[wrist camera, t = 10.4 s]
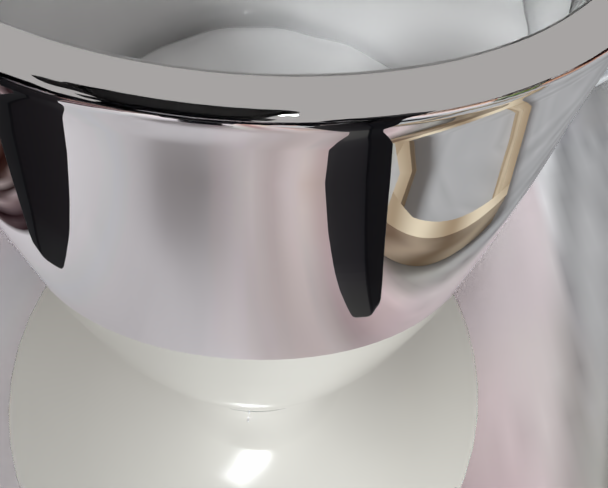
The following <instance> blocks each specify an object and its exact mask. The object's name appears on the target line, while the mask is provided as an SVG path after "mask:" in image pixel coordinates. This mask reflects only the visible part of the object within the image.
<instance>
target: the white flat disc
mask: <svg viewBox="0 0 608 488" xmlns="http://www.w3.org/2000/svg"><path fill="white" fill-rule="evenodd" d="M8 413H9V433H10V446H11V451H12V456H13V461H14V466H15V471H16V477H17V480H18V483H19V485H20V488H461V485H462V483H463V481H464V478H465V475H466V471H467V468H468V464H469V460H470V457H471V453H472V449H473V445H474V438H475V431H476V423H477V416H478V383H477V374H476V366H475V358H474V353H473V349H472V345H471V341H470V337H469V333H468V329H467V326H466V324H465V321H464V318H463V316H462V313H461V311H460V308H459V305H458V303H457V301H456V299H455V297H454V295H452V296H451V297H450V298H449V300H448V301H447V302H446V303H445V305H444V306H443V307H442V308H441V309H440V310H439V311H438V312H437V313H436V314H435V315H434V316H433V317H432V318H431V319H430V320H429V321H428V322H427V323H426V324H425V325H424V326H423V327H422V328H421V329H420V330H419V331H418V332H417V333H416V334H415V335H414V336H413V337H412V338H411V339H410V340H409V341H408V342H407V343H406V344H405V345H404V346H403V347H402V348H401V349H400V350H399V351H397V352H396V353H395V354H394V355H393V356H392V357H390V358H389V359H388V360H386V361H385V362H384V363H382V364H381V365H379V366H378V367H376V368H375V369H373V370H372V371H370V372H369V373H367V374H365V375H364V376H362V377H360V378H359V379H357V380H355V381H354V382H352V383H350V384H348V385H347V386H345V387H343V388H342V390H341V392H340V395H339V397H338V399H337V401H336V403H335V405H334V407H333V408H332V410H331V411H330V413H329V414H328V415H327V417H326V418H325V419H324V420H323V422H322V423H321V424H320V425H319V426H318V427H317V428H315V429H314V430H313V431H312V432H310V433H309V434H308V435H306V436H305V437H303V438H301V439H299V440H297V441H295V442H293V443H291V444H288V445H286V446H283V447H279V448H275V449H270V450H261V451H250V450H241V449H236V448H232V447H229V446H226V445H223V444H221V443H219V442H217V441H215V440H213V439H211V438H209V437H208V436H206V435H205V434H204V433H202V432H201V431H200V430H199V429H198V428H197V427H195V426H194V425H193V424H192V422H191V421H190V420H189V419H188V418H187V416H186V415H185V414H184V412H183V411H182V409H181V407H180V405H179V403H178V401H177V399H176V397H175V394H174V392H173V390H171V389H169V388H167V387H165V386H164V385H162V384H160V383H158V382H156V381H155V380H153V379H151V378H149V377H147V376H146V375H144V374H142V373H140V372H139V371H137V370H135V369H134V368H132V367H131V366H129V365H128V364H126V363H125V362H124V361H122V360H121V359H120V358H118V357H117V356H116V355H115V354H113V353H112V352H111V351H110V350H109V349H108V348H107V347H106V346H105V345H104V344H102V343H101V342H100V341H99V340H98V339H97V338H96V337H95V336H94V335H93V334H92V333H91V332H90V331H89V330H88V329H87V328H86V327H84V326H83V325H82V324H81V323H80V322H79V321H78V320H77V319H76V318H75V317H74V316H73V315H72V314H71V313H70V312H69V311H68V310H67V309H66V308H65V307H64V306H63V305H62V304H61V303H60V302H59V301H58V299H57V298H56V297H55V296H54V295H53V293H52V292H51V291H50V290H49V288H48V287H47V286H46V288H45V289H44V291H43V292H42V294H41V296H40V298H39V300H38V302H37V304H36V306H35V308H34V310H33V312H32V313H31V315H30V317H29V320H28V322H27V325H26V328H25V331H24V333H23V336H22V339H21V341H20V344H19V347H18V351H17V355H16V360H15V364H14V369H13V373H12V377H11V387H10V398H9V409H8Z"/></svg>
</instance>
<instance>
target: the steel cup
mask: <svg viewBox="0 0 608 488" xmlns="http://www.w3.org/2000/svg"><path fill="white" fill-rule="evenodd" d="M607 68H608V0H0V228H1V229H2V230H3V232H4V233H5V235H6V236H7V237H8V239H9V240H10V241H11V243H12V244H13V245H14V246H15V248H16V249H17V250H18V251H19V253H20V254H21V255H22V256H23V258H24V259H25V260H26V261H27V262H28V264H29V265H30V266H31V267H32V269H33V270H34V271H35V272H36V274H37V275H38V276H39V277H40V278H41V280H42V281H43V282H44V283H45V285H46V286H47V287H48V288H49V290H50V291H51V292H52V293H53V295H54V296H55V297H56V298H57V299H58V301H59V302H60V303H61V304H62V305H63V306H64V307H65V308H66V309H67V310H68V311H69V312H70V313H71V314H72V315H73V316H74V317H75V318H76V319H77V320H78V321H79V322H80V323H81V324H82V325H83V326H84V327H86V328H87V329H88V330H89V331H90V332H91V333H92V334H93V335H94V336H95V337H96V338H97V339H98V340H99V341H100V342H101V343H102V344H104V345H105V346H106V347H107V348H108V349H109V350H110V351H111V352H112V353H113V354H115V355H116V356H117V357H118V358H120V359H121V360H122V361H124V362H125V363H126V364H128V365H129V366H131V367H132V368H134V369H135V370H137V371H139V372H140V373H142V374H144V375H146V376H147V377H149V378H151V379H153V380H155V381H156V382H158V383H160V384H162V385H164V386H165V387H167V388H169V389H171V390H173V392H174V394H175V397H176V399H177V401H178V403H179V405H180V407H181V409H182V411H183V412H184V414H185V415H186V416H187V418H188V419H189V420H190V421H191V422H192V424H193V425H194V426H195V427H197V428H198V429H199V430H200V431H201V432H202V433H204V434H205V435H206V436H208V437H209V438H211V439H213V440H215V441H217V442H219V443H221V444H223V445H226V446H229V447H232V448H236V449H241V450H250V451H261V450H270V449H275V448H279V447H283V446H286V445H288V444H291V443H293V442H295V441H297V440H299V439H301V438H303V437H305V436H306V435H308V434H309V433H310V432H312V431H313V430H314V429H315V428H317V427H318V426H319V425H320V424H321V423H322V422H323V420H324V419H325V418H326V417H327V415H328V414H329V413H330V411H331V410H332V408H333V407H334V405H335V403H336V401H337V399H338V397H339V395H340V392H341V390H342V388H343V387H345V386H347V385H348V384H350V383H352V382H354V381H355V380H357V379H359V378H360V377H362V376H364V375H365V374H367V373H369V372H370V371H372V370H373V369H375V368H376V367H378V366H379V365H381V364H382V363H384V362H385V361H386V360H388V359H389V358H390V357H392V356H393V355H394V354H395V353H396V352H397V351H399V350H400V349H401V348H402V347H403V346H404V345H405V344H406V343H407V342H408V341H409V340H410V339H411V338H412V337H413V336H414V335H415V334H416V333H417V332H418V331H419V330H420V329H421V328H422V327H423V326H424V325H425V324H426V323H427V322H428V321H429V320H430V319H431V318H432V317H433V316H434V315H435V314H436V313H437V312H438V311H439V310H440V309H441V308H442V307H443V306H444V305H445V303H446V302H447V301H448V300H449V298H450V297H451V296H452V295H453V293H454V292H455V291H456V290H457V288H458V287H459V286H460V284H461V283H462V282H463V281H464V279H465V278H466V277H467V275H468V274H469V273H470V272H471V270H472V269H473V268H474V266H475V265H476V264H477V262H478V261H479V260H480V259H481V257H482V256H483V255H484V253H485V252H486V251H487V250H488V248H489V247H490V245H491V244H492V243H493V241H494V240H495V238H496V237H497V235H498V234H499V232H500V231H501V229H502V228H503V226H504V225H505V224H506V222H507V221H508V219H509V218H510V216H511V215H512V213H513V212H514V210H515V209H516V207H517V206H518V204H519V203H520V201H521V200H522V198H523V197H524V195H525V194H526V192H527V191H528V189H529V188H530V187H531V185H532V184H533V182H534V181H535V179H536V178H537V176H538V174H539V173H540V171H541V170H542V168H543V166H544V165H545V163H546V162H547V160H548V159H549V157H550V155H551V154H552V152H553V151H554V149H555V147H556V146H557V144H558V143H559V141H560V140H561V138H562V136H563V135H564V133H565V132H566V130H567V128H568V127H569V125H570V124H571V122H572V121H573V119H574V117H575V116H576V114H577V113H578V111H579V110H580V108H581V107H582V105H583V104H584V102H585V101H586V99H587V98H588V96H589V95H590V93H591V92H592V90H593V89H594V87H595V86H596V84H597V83H598V81H599V80H600V78H601V77H602V75H603V74H604V72H605V71H606V69H607Z"/></svg>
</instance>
